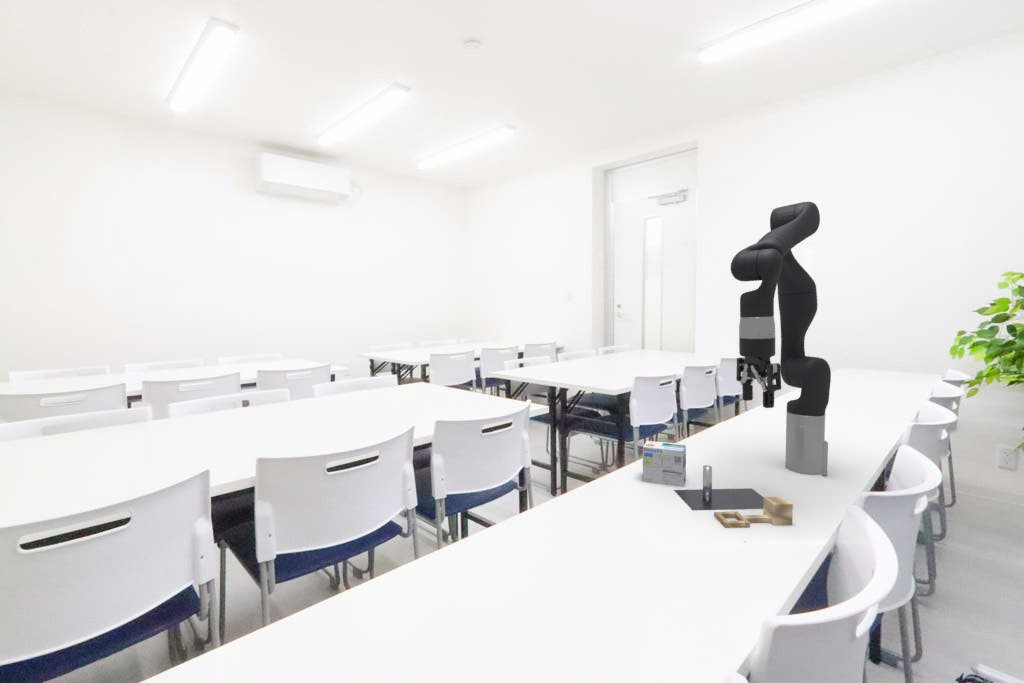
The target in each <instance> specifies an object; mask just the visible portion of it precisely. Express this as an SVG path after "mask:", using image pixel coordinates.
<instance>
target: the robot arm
mask: <svg viewBox="0 0 1024 683" xmlns="http://www.w3.org/2000/svg"><path fill="white" fill-rule="evenodd" d="M820 215H821V214H820V211H819V208H818V206H817V204H816V203H815V202H812V201H803V202H802V201H801V202H796V203H793V204H788V205H783V206H779V207H775V208H774V209H772V211H771V214H770V218H769V227H770V228H769V229H770V231H768V232H767V233H765V234H764V235H763V236H762V237H761V238H760V239H759V240H758V241H757V242H755V243H753V244H751V245H749V246H747V247H745V248H743V249H742V250H739V251H738V252H737V253H736V254H735V255H734V256H733V258H732V260H731V263H730V272H731V275H732V277H733V278H734V279H736V281H739V282H753V281H754V282H757V281H761V283H760V285H759V286H758V287H757V289H752V290H749V291H746V292H743V293H742V294H741V295H740V297H739V324H738V333H739V334H738V335H739V336H738V341H739V342H738V346H739V347H738V348H739V352H738V354H739V355H740V356H741V357H737V358H736V381H737V382H740V385H741V386H742V389H741V390H742V400H743V401H748V402H749V401H752V400H753V399H754V398H753V397H754V393H753V392H754V389H753V388H754V386H753V382H754V381H755V380H756V382H757V384H759V385H760V386H761V389H762V407H763V408H765V409H772V408H774V407H775V392H776V391H782V380H783V382H784V383H785V384H786V385H787V386H789V387H793V388H797V389H798V388H799V389H800V395H799V396H798V398H795V399H791V400H789V401H787V403H786V413H785V414H786V416H785V418H786V419H785V420H786V421H785V422H786V423H785V424H786V426H785V462H784V464H785V468H784V469H786V470H787V471H790V472H792V473H796V474H800V475H805V476H807V475H808V476H822V477H824V476H828V460H829V458H828V457H829V456H828V454H829V452H828V451H829V442H828V441H827V440H826V439H825V436H826V434H825V432H826V409H827V407H828V404H829V402H830V392H831V391H830V390H831V381H832V379H831V378H832V373H831V372H832V370H831V367H830V364H829V362H828V361H827V360H825V359H824V358H821V357H819V356H817V357H816V356H809V355H808V356H807V355H806V351H805V349H806V348H805V340H806V339H805V338H806V334H807V332H808V330H809V328H810V326H811V324H812V322H813V321H814V318H815V316H816V315H817V311H818V292H817V284H816V283H815V281H814V279H813V277H812V276H811V275H810V274H809V273H808V272H807V271H806V269H804V267H803V266H802V265H801V264H800V262H799V261H797V259H796V257H795V256H794V254H793V251H792V249H793V248H794V247H796V246H797V245H798V244H800V243H801V242H803V241H804V240H806V239H808V238H809V237H811V236H813V235H814V234H815V233H817V231H818V229H819V227H820V223H821V216H820ZM776 291H777V302H778V311H779V320H780V322H779V323H780V362H777V363H775V362H774V363H772V362H771V357H774V356H776V323H775V317H774V316H775V313H774V312H775V295H776ZM774 381H775V382H774Z"/></svg>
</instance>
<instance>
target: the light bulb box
mask: <svg viewBox="0 0 1024 683" xmlns="http://www.w3.org/2000/svg"><path fill="white" fill-rule="evenodd" d="M686 446H687V445H686V443H675V442H664V441H653V440H646V441H645V443H644V444H643V446H642V482H644V483H645V482H646V483H652V484H659V485H666V486H673V487H680V488H684V487H685V484H686V481H687V479H686V478H687V453H686V452H687V448H686Z"/></svg>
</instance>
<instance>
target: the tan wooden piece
mask: <svg viewBox="0 0 1024 683" xmlns="http://www.w3.org/2000/svg"><path fill="white" fill-rule="evenodd" d="M763 497H764V501H763V509H762V514H745V515H744V514H743V515H742V514H741V513H740V512H738V511H714V512H713V517H714V518H715V519H716V520H717V521H718V522H719V523H720V524H721V525H722V526H723V527H724V529H735V528H736V529H739V528H740V529H742V528H744V529H745V528H748V529H749V528H751V524H771V525H772V526H793V514H794V513H793V512H794V510H793V509H794V504H793V503H792V502H791V501H789V500H788V499H786V498H785V497H783V496H763ZM728 519H735V520H728Z"/></svg>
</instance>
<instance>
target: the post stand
mask: <svg viewBox="0 0 1024 683" xmlns="http://www.w3.org/2000/svg"><path fill="white" fill-rule="evenodd" d="M673 491H674V492H675V494H677V496H679V498H680V499H681V500H683V502H684V503H685V504H686V505H687V506H688V508H690V509H691V510H692V511H720V510H721V511H726V510H727V511H729V510H731V511H732V510H763V501H764V497H765V496H763V495H761V494H760V493H759V492H757V491H756V490H755V489H753V488H751V487H750V488H747V487H746V488H713V466H711V465H708V464H707V465H703V466H702V489H701V488H700V489H673Z"/></svg>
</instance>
